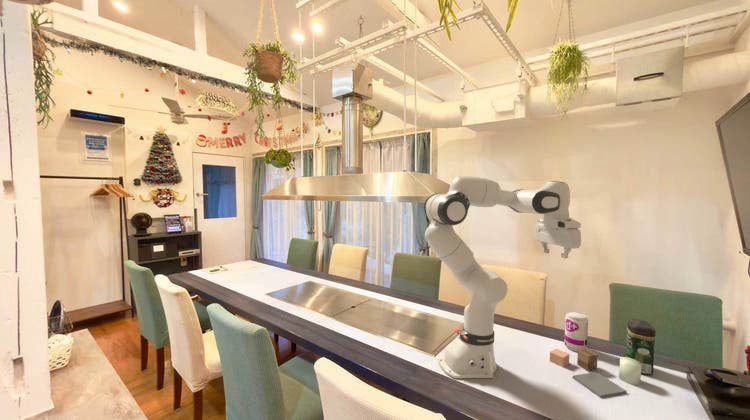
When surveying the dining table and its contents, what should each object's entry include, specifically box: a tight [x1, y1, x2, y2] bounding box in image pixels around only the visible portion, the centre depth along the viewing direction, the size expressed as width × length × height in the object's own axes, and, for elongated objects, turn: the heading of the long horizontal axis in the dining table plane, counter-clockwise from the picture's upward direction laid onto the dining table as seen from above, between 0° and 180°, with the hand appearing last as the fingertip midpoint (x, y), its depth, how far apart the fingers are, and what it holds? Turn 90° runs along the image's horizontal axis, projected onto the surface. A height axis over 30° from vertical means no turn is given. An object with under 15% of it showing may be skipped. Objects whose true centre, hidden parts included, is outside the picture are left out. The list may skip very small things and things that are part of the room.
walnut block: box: [576, 348, 599, 372], centre depth 119 cm, size 4×4×6 cm
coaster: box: [572, 371, 627, 398], centre depth 108 cm, size 11×11×1 cm
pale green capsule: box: [618, 356, 642, 386], centre depth 111 cm, size 6×6×7 cm
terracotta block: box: [549, 348, 570, 368], centre depth 122 cm, size 5×5×4 cm
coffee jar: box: [625, 318, 656, 375], centre depth 117 cm, size 10×8×19 cm
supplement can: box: [563, 311, 589, 353], centre depth 133 cm, size 8×8×15 cm
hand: (554, 255), depth 123 cm, fingers open, 8 cm apart
